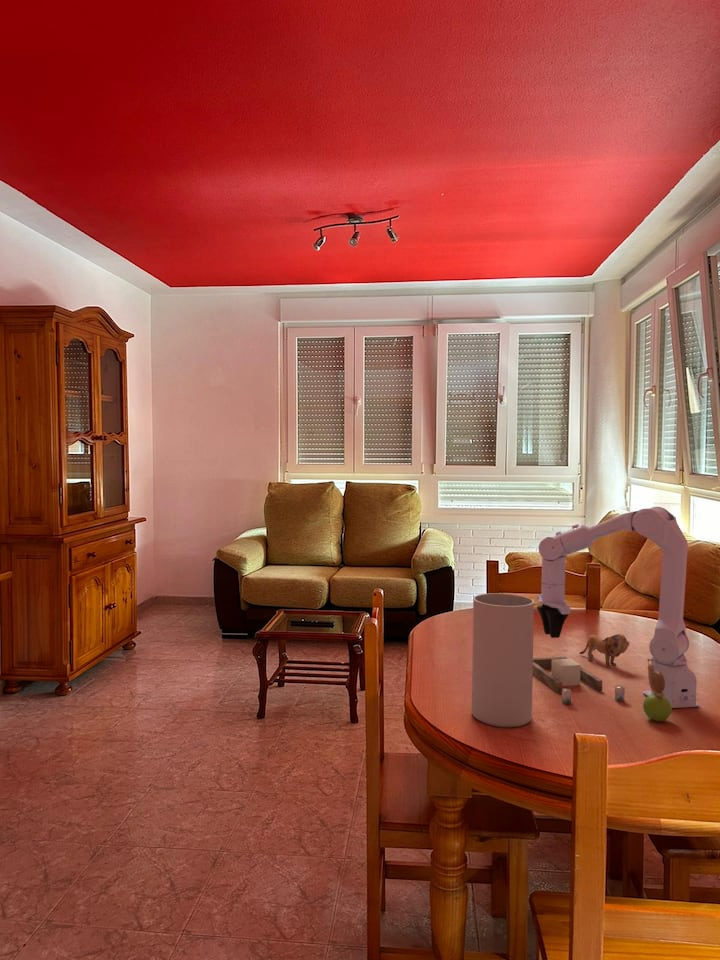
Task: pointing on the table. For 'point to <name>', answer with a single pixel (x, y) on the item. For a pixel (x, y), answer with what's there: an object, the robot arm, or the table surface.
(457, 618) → the table surface
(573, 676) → the cube
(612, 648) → the lion figurine
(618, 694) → the posts
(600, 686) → the stall
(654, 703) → the snail figurine
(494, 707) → the cylinder vase
